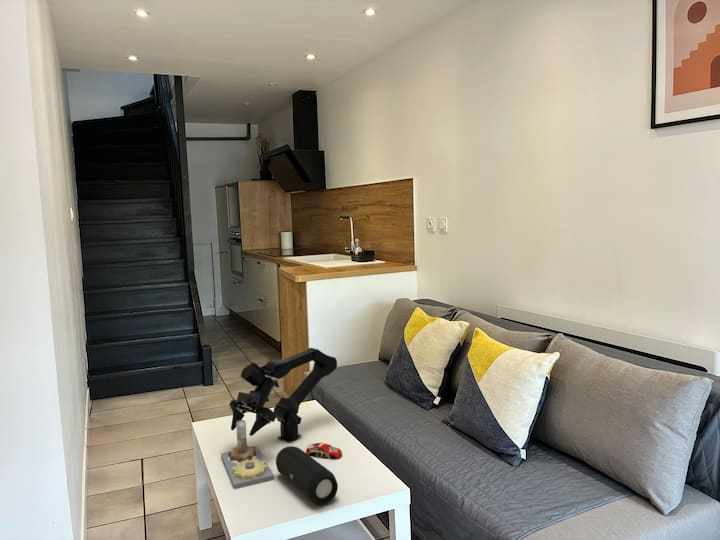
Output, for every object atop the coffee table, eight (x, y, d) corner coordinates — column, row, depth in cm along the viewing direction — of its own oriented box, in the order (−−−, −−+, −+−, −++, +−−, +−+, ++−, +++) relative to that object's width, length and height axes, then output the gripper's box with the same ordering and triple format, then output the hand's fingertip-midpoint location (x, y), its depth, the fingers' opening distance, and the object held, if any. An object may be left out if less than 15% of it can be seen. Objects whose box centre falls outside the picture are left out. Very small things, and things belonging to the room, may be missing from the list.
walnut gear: (258, 449, 195) (257, 416, 193) (254, 462, 185) (252, 427, 184) (232, 450, 195) (230, 416, 193) (225, 462, 185) (223, 428, 183)
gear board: (221, 457, 193) (220, 446, 192) (257, 449, 198) (256, 439, 198) (234, 489, 171) (233, 476, 171) (274, 479, 176) (273, 467, 176)
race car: (344, 454, 193) (344, 444, 193) (338, 461, 188) (338, 450, 187) (310, 449, 197) (310, 439, 197) (304, 456, 192) (304, 446, 192)
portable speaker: (274, 477, 178) (272, 448, 177) (300, 468, 184) (299, 440, 183) (312, 512, 157) (311, 479, 156) (341, 500, 163) (339, 469, 162)
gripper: (231, 377, 196) (209, 417, 188) (268, 386, 186) (246, 428, 178) (248, 392, 203) (227, 430, 196) (285, 401, 193) (265, 442, 185)
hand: (240, 432), depth 189 cm, fingers open, 9 cm apart
